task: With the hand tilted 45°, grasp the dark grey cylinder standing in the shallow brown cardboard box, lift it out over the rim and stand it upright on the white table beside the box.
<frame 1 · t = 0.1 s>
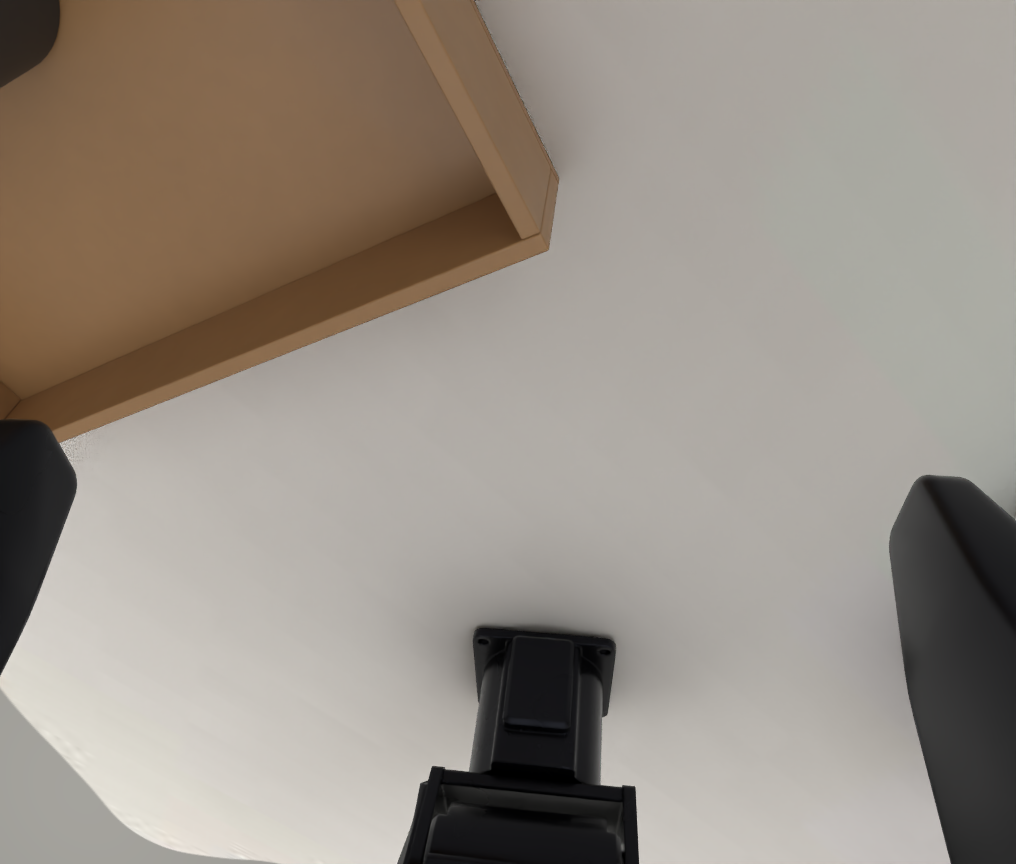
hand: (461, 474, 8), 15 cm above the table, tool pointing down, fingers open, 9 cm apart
tie box: (58, 79, 21), on the table
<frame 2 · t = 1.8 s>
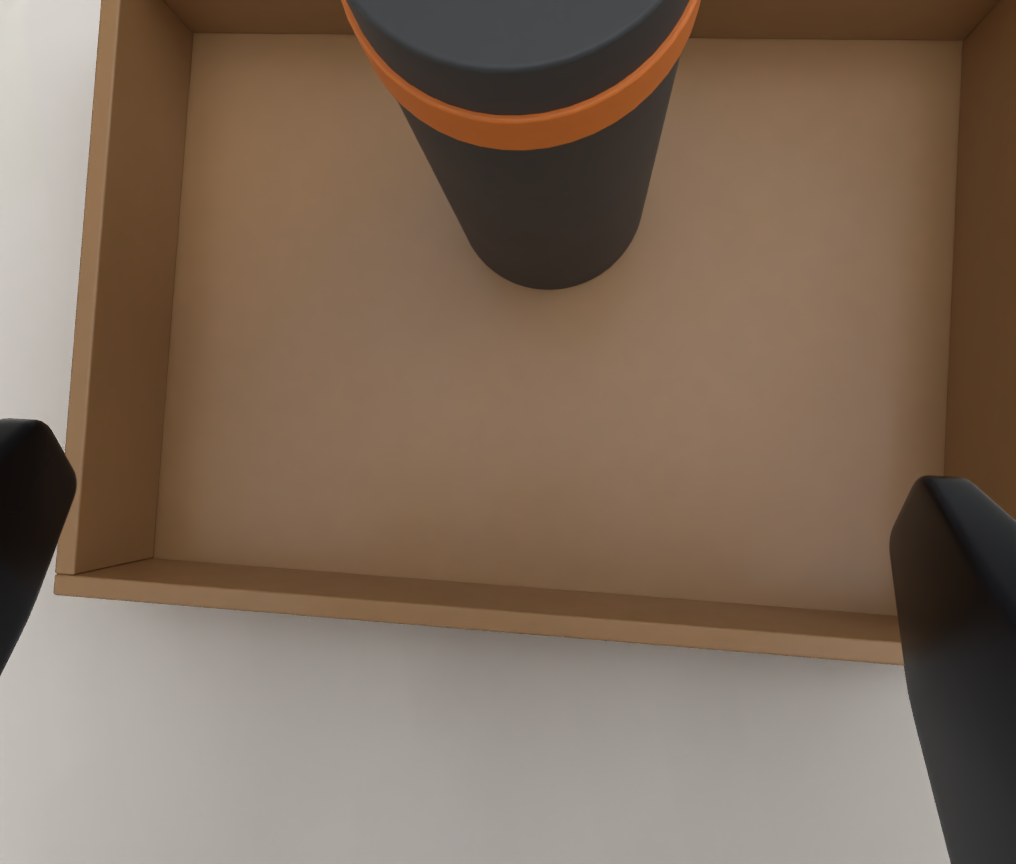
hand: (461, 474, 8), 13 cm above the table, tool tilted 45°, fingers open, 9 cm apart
tie box: (544, 310, 22), on the table
dark grey cylinder: (550, 199, 21), resting on tie box
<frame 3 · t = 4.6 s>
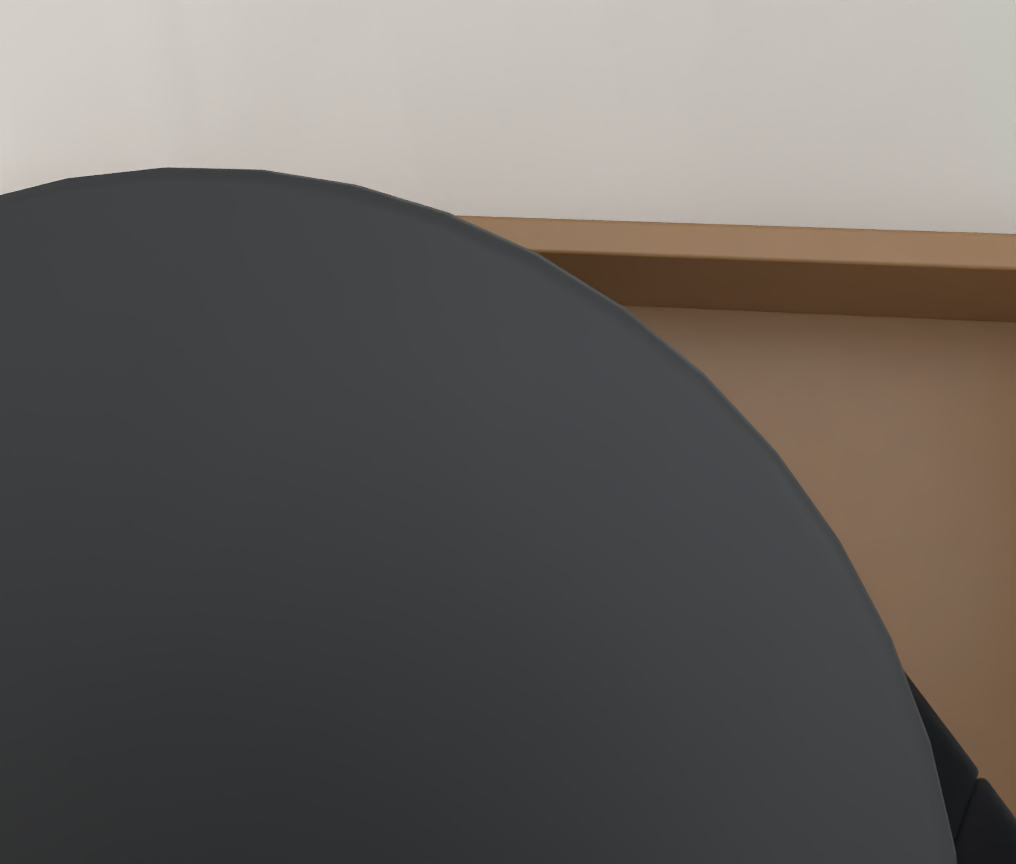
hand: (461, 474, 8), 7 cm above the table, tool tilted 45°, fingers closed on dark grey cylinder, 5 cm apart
tie box: (498, 705, 15), on the table
dark grey cylinder: (506, 545, 14), resting on tie box, touching gripper
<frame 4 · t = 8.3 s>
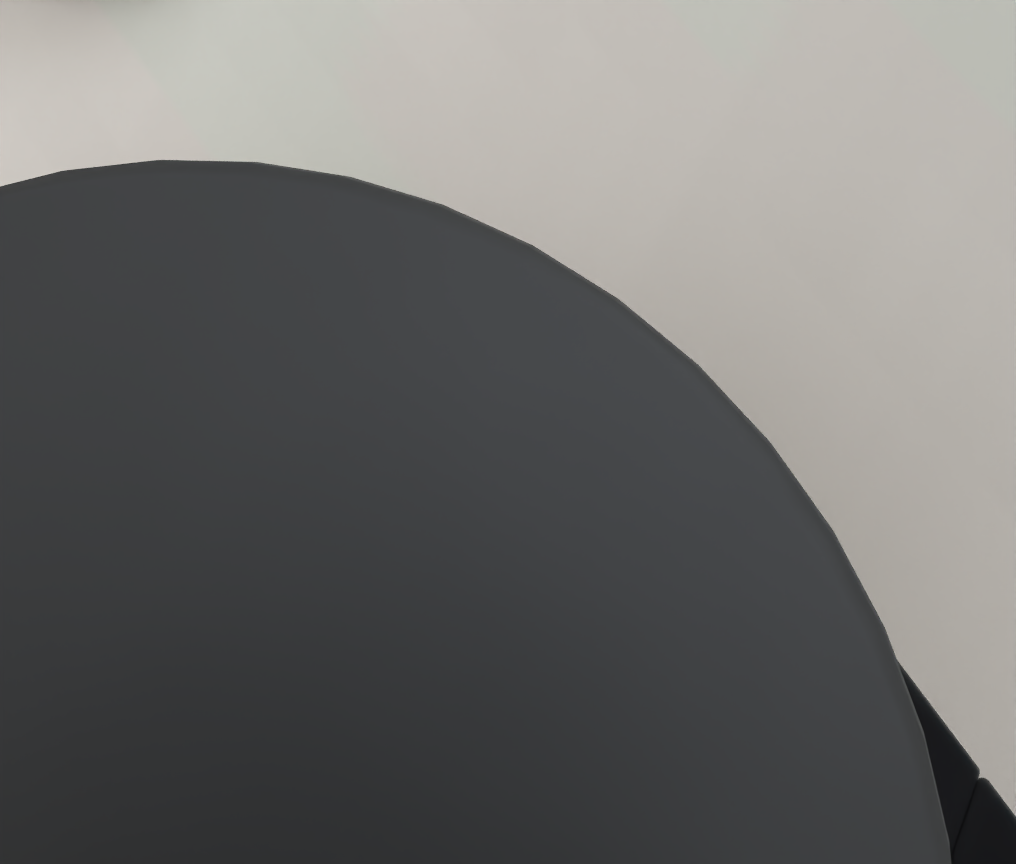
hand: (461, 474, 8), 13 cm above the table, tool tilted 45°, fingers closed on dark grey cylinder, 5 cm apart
dark grey cylinder: (505, 543, 14), point 7 cm above the table, touching gripper
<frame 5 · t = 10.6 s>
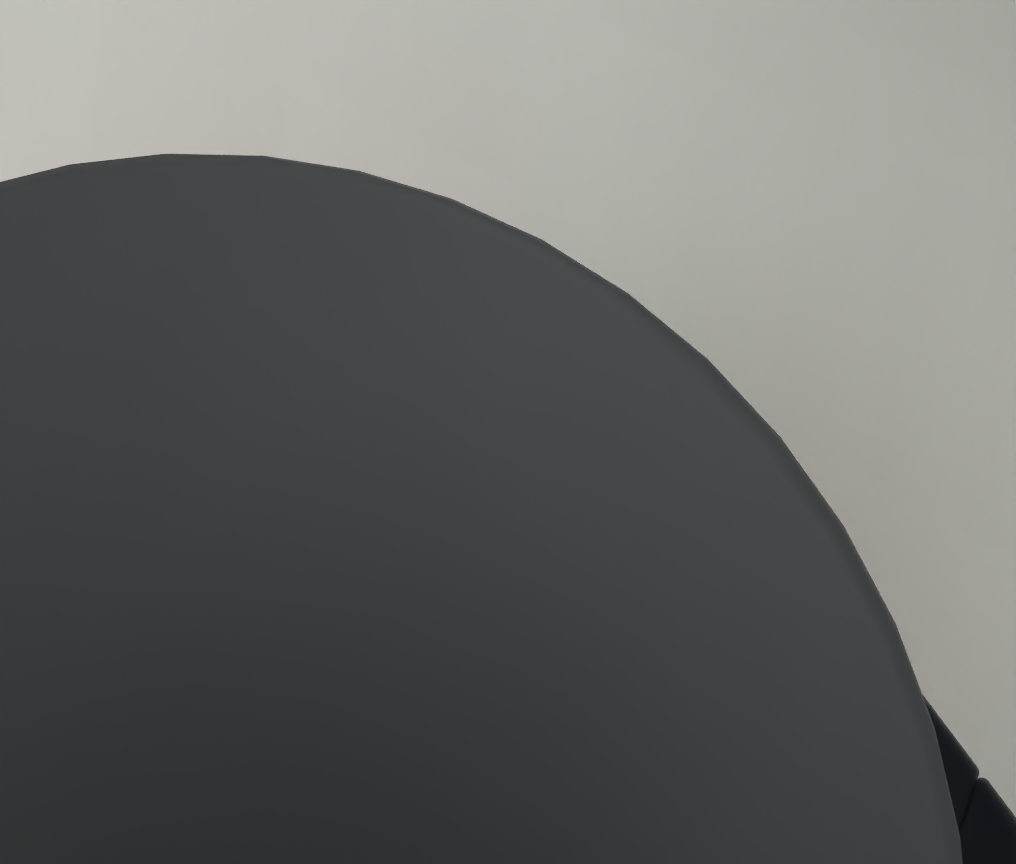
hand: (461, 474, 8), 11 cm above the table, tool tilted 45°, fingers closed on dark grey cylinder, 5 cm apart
dark grey cylinder: (507, 543, 14), point 4 cm above the table, touching gripper
when the fingers open (6 cm above the table, at t = 12.3 s): dark grey cylinder stays where it is, on the table.
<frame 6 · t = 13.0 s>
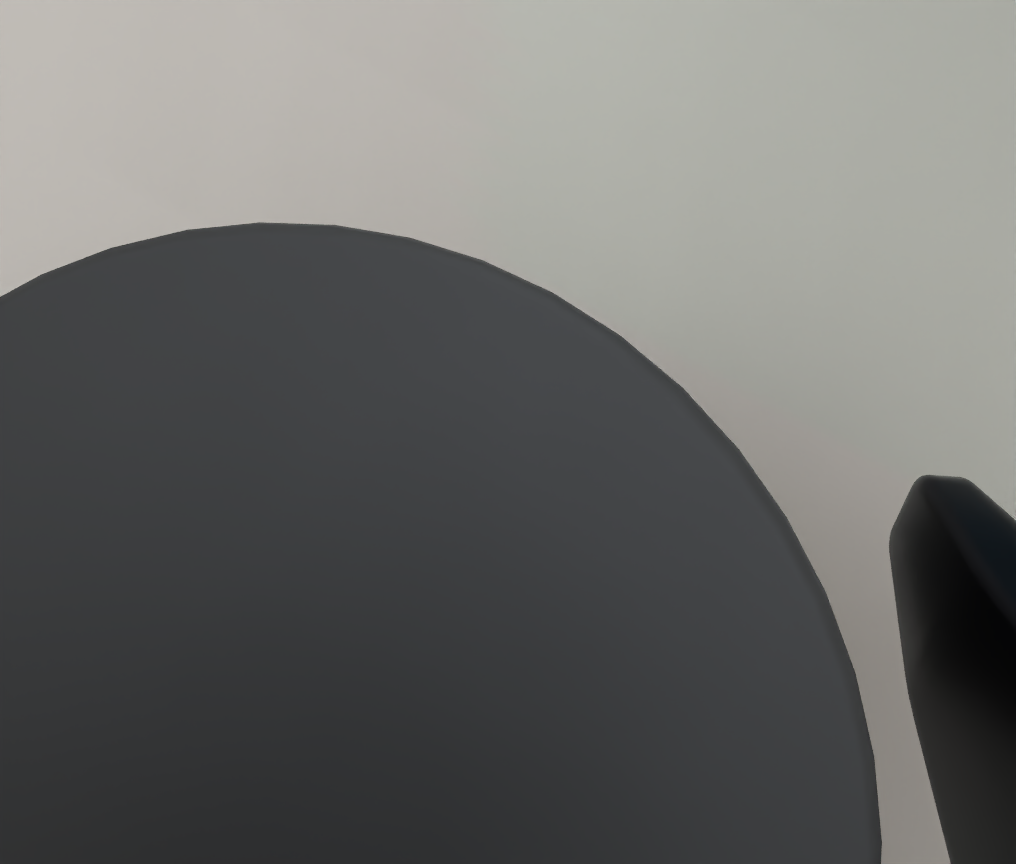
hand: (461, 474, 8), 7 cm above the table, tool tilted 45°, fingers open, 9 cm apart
dark grey cylinder: (511, 540, 15), on the table
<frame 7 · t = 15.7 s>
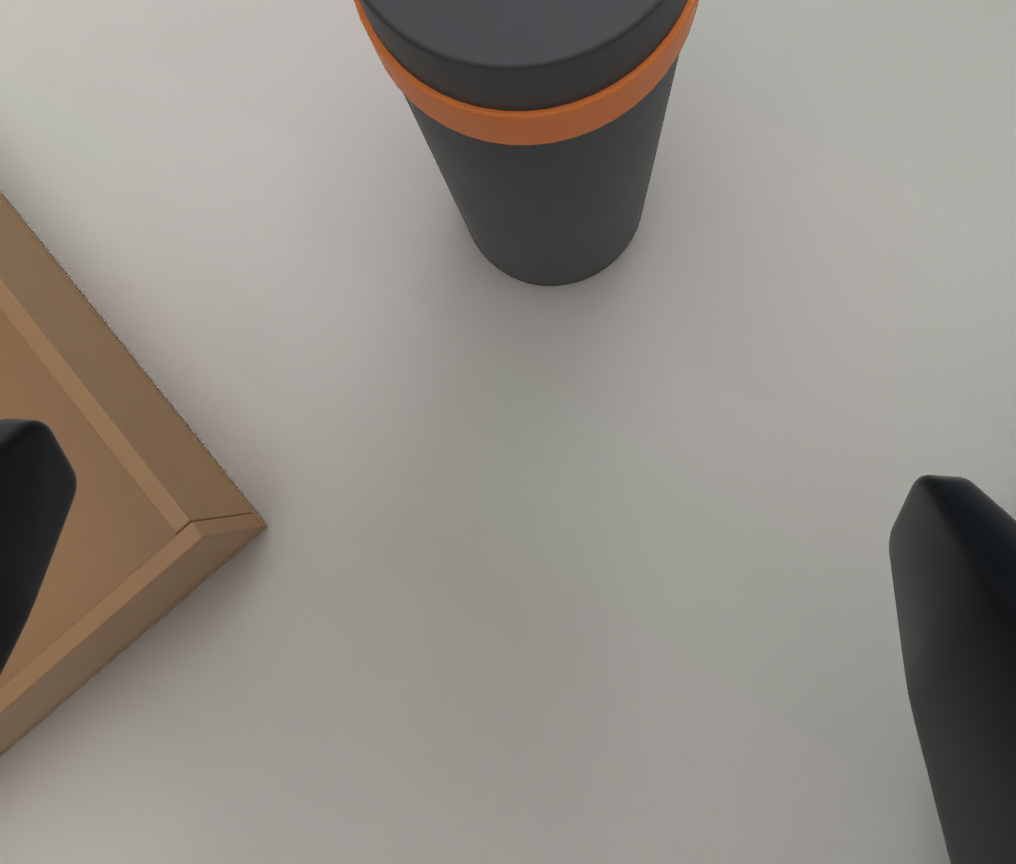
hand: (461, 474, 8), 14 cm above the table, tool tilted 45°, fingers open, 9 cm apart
dark grey cylinder: (552, 197, 22), on the table
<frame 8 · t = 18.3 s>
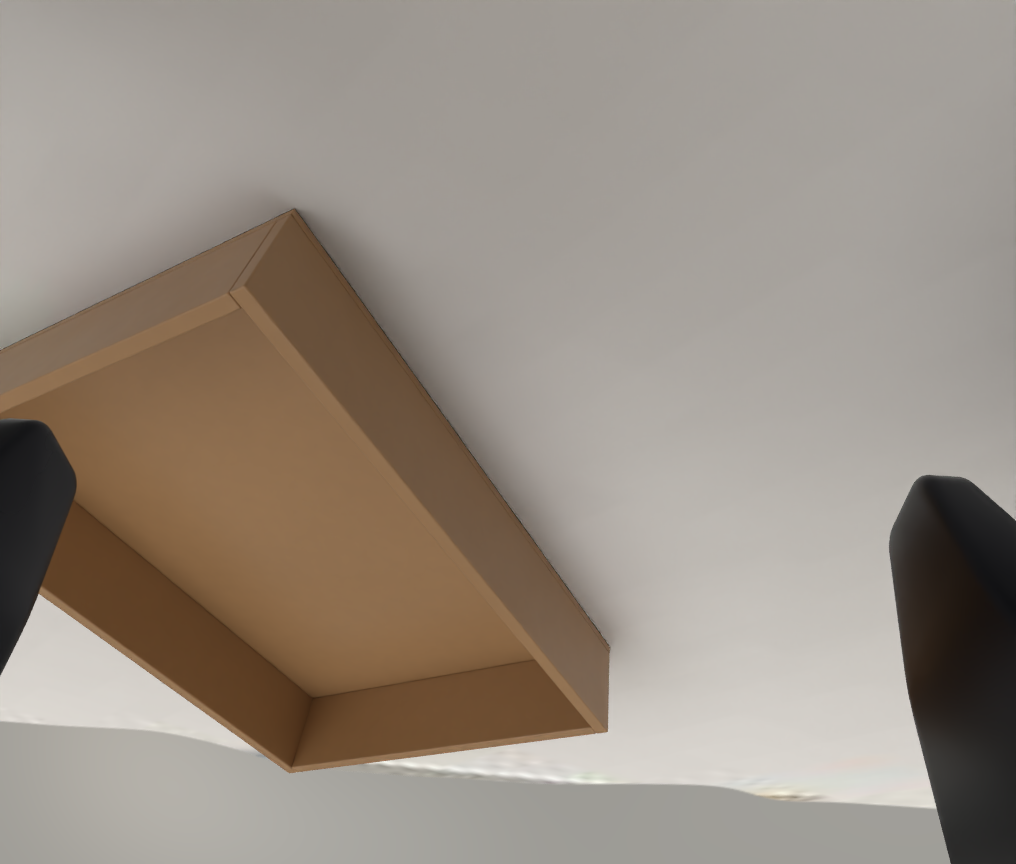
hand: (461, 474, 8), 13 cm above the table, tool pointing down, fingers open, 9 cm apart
tie box: (306, 529, 30), on the table
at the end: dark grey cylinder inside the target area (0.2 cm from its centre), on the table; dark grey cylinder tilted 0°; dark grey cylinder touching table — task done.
